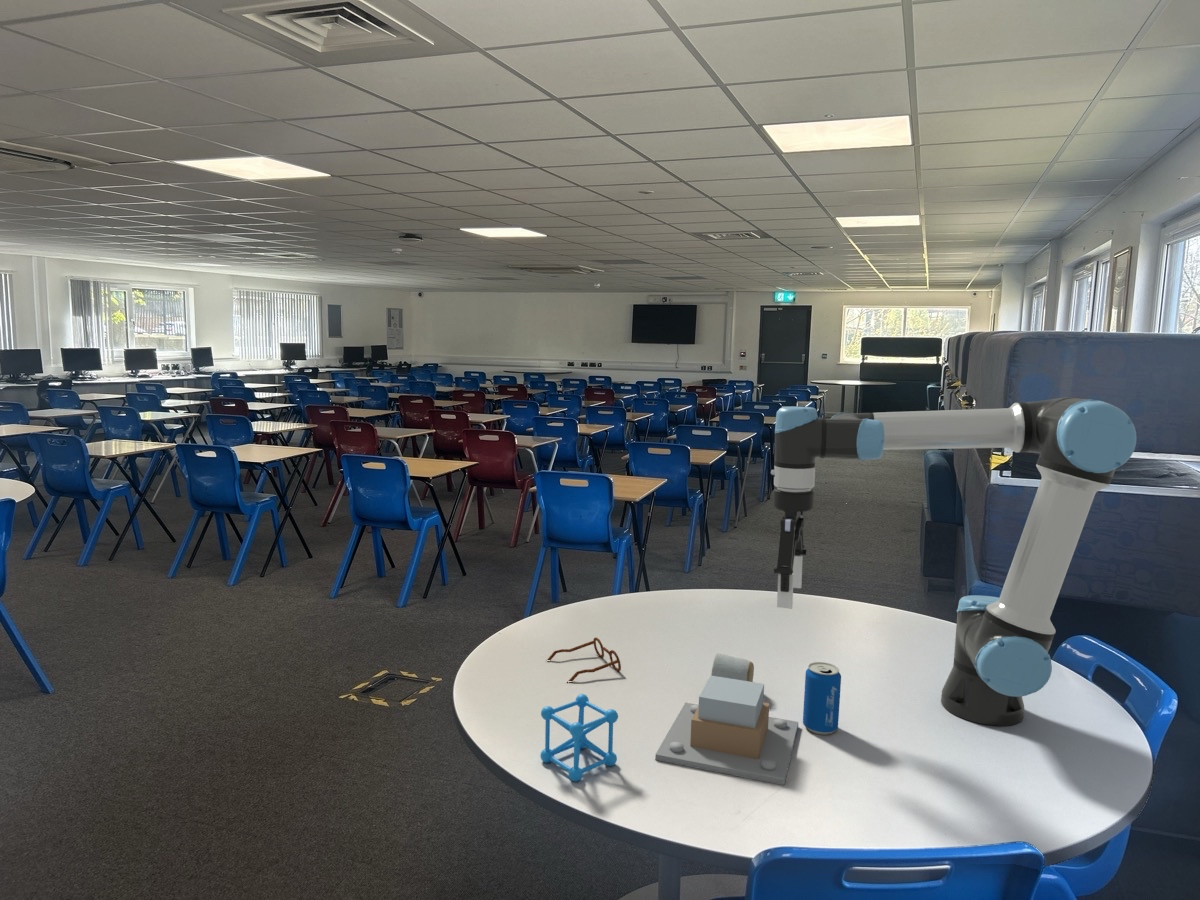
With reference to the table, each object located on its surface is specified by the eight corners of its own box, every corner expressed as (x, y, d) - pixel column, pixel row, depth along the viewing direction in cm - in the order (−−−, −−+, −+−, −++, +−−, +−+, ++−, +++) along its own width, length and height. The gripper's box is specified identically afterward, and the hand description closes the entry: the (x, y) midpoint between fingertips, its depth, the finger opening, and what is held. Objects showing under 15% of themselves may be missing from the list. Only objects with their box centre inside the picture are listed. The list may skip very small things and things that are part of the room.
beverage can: (813, 738, 148) (817, 676, 147) (796, 722, 154) (799, 662, 153) (844, 734, 150) (848, 673, 148) (826, 718, 156) (829, 659, 154)
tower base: (797, 726, 152) (800, 676, 151) (784, 785, 132) (787, 727, 131) (685, 707, 160) (686, 659, 158) (655, 759, 139) (657, 705, 138)
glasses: (622, 675, 176) (622, 654, 175) (567, 685, 170) (567, 663, 169) (596, 654, 187) (597, 634, 187) (544, 663, 182) (544, 641, 181)
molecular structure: (581, 743, 145) (583, 690, 143) (619, 765, 137) (621, 710, 136) (537, 761, 138) (538, 706, 137) (574, 785, 131) (575, 727, 129)
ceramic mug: (749, 702, 163) (751, 665, 162) (709, 696, 165) (711, 660, 164) (755, 682, 173) (756, 648, 172) (717, 677, 175) (718, 643, 174)
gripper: (782, 477, 165) (779, 577, 167) (762, 498, 141) (759, 614, 144) (820, 479, 162) (816, 581, 165) (806, 501, 139) (801, 619, 141)
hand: (789, 597), depth 154 cm, fingers open, 13 cm apart
